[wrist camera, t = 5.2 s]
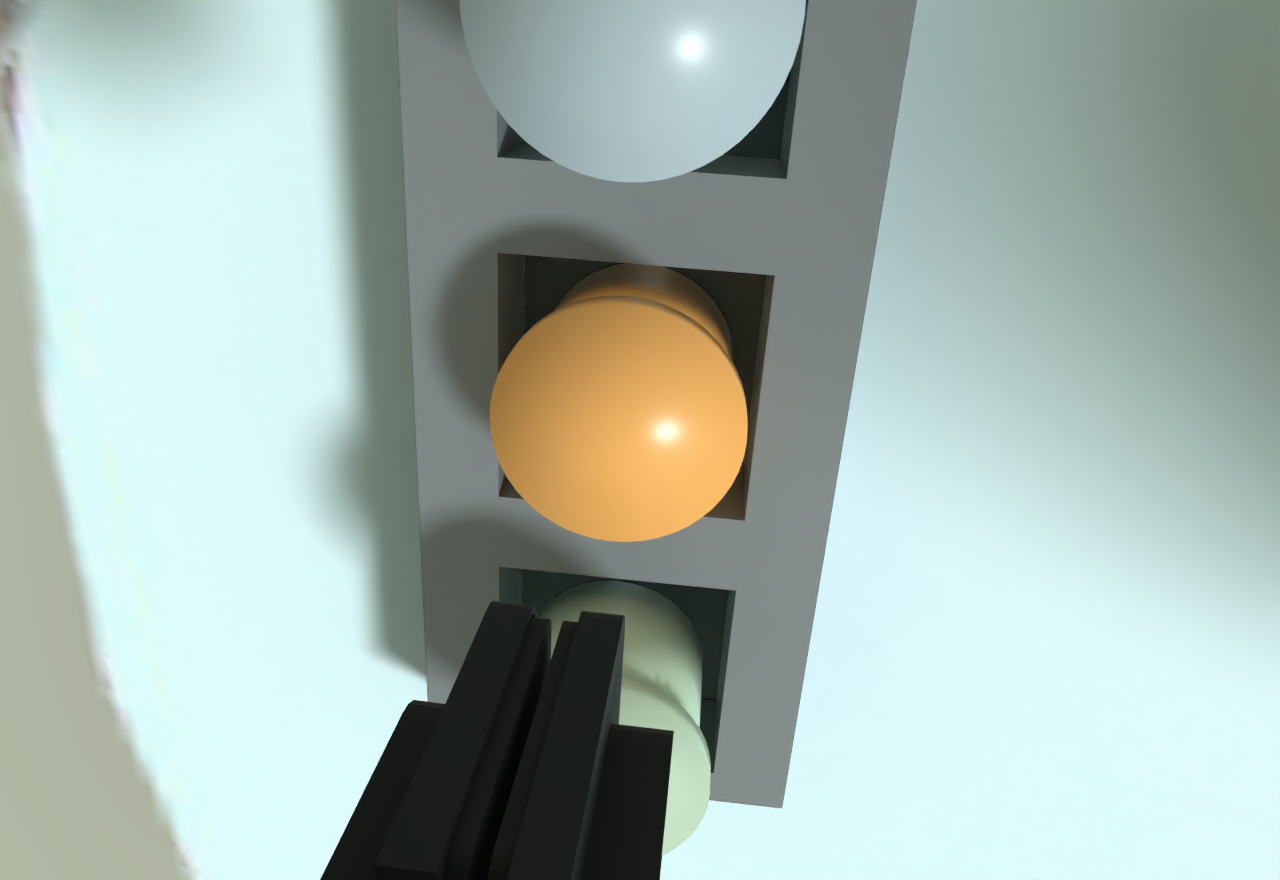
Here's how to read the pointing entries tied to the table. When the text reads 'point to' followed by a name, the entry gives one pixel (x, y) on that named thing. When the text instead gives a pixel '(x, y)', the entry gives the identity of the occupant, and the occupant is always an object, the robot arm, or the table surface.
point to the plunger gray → (632, 77)
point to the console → (661, 236)
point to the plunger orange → (623, 407)
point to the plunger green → (654, 685)
